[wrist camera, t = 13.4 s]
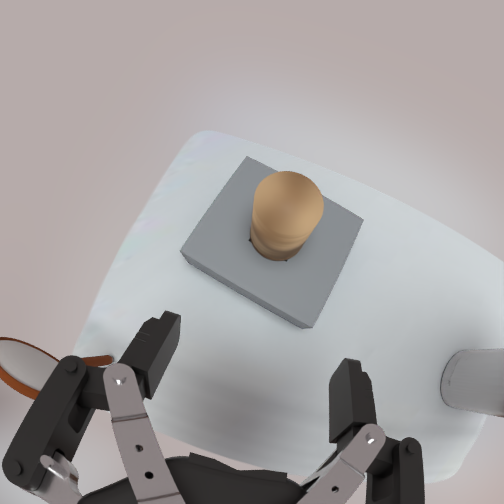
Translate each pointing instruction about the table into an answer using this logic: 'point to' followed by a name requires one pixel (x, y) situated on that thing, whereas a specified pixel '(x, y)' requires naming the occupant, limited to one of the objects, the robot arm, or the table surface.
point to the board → (264, 270)
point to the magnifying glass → (32, 365)
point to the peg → (284, 214)
